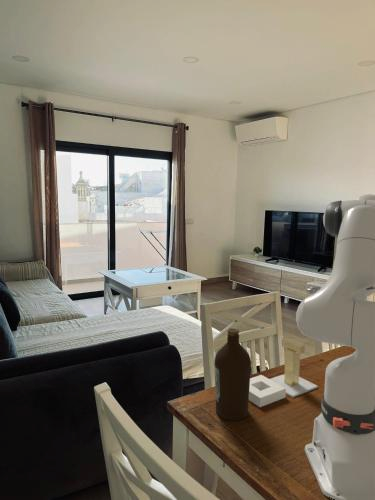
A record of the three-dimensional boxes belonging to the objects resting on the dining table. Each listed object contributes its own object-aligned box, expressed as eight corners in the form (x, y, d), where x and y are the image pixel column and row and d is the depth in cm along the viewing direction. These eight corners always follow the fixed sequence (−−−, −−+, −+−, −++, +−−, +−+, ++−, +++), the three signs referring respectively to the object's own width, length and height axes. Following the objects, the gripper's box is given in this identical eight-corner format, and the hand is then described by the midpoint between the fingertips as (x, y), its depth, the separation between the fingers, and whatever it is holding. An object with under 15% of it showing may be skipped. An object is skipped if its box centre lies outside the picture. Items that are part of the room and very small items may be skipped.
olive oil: (248, 403, 111) (250, 324, 108) (251, 423, 101) (253, 337, 98) (214, 401, 112) (215, 323, 109) (213, 421, 102) (214, 335, 99)
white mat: (317, 387, 121) (317, 385, 121) (292, 397, 114) (292, 395, 114) (290, 373, 131) (290, 372, 131) (265, 381, 124) (265, 380, 124)
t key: (304, 386, 120) (306, 345, 118) (297, 389, 118) (299, 347, 116) (286, 377, 127) (287, 337, 125) (279, 379, 125) (280, 339, 123)
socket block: (285, 397, 114) (285, 388, 114) (259, 407, 109) (259, 398, 108) (261, 383, 124) (261, 374, 123) (236, 391, 118) (236, 382, 118)
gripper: (320, 276, 141) (295, 280, 134) (370, 286, 124) (345, 291, 116) (319, 292, 142) (295, 296, 134) (369, 304, 124) (344, 310, 117)
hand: (318, 294), depth 125 cm, fingers open, 8 cm apart
